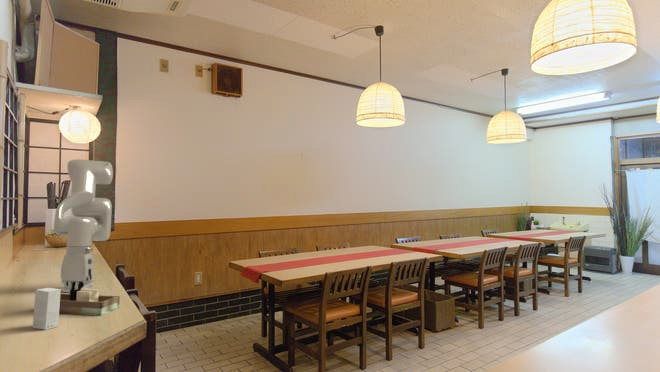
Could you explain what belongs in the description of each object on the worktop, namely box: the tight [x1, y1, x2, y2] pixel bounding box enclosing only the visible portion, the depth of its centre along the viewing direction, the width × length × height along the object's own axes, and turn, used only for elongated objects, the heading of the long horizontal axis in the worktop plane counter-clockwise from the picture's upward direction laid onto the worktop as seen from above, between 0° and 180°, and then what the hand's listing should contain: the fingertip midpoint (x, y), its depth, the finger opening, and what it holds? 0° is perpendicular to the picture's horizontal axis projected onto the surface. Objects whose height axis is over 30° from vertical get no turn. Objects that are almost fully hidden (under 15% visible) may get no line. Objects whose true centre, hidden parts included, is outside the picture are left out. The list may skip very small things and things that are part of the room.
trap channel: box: [59, 293, 121, 317], centre depth 141 cm, size 10×25×4 cm, turn 87°
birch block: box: [76, 288, 100, 302], centre depth 141 cm, size 5×5×5 cm
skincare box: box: [32, 287, 62, 331], centre depth 121 cm, size 6×4×12 cm
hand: (74, 299), depth 141 cm, fingers closed
